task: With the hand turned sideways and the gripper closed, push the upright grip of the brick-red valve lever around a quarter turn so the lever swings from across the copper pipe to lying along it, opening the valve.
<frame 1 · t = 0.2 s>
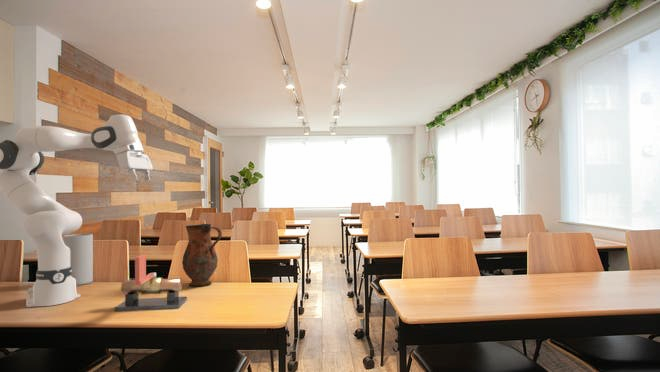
hand: (142, 180, 154), 52 cm above the table, tool tilted 20°, fingers open, 8 cm apart
valve: (152, 305, 146), on the table
valve lever: (145, 267, 139), point 17 cm above the table, hinge at 0.0°
pitcher: (203, 285, 178), on the table
cylinder vase: (78, 283, 184), on the table
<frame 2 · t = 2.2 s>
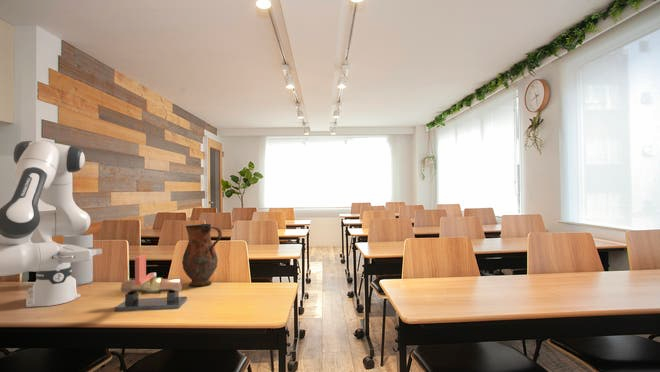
hand: (97, 250, 125), 26 cm above the table, tool horizontal, fingers open, 6 cm apart
nothing on the table moved.
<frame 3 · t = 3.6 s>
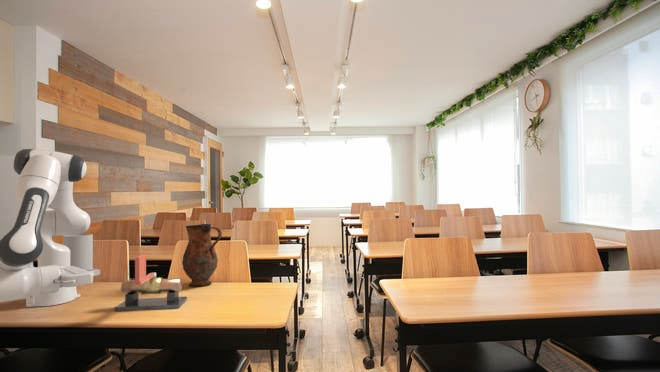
hand: (98, 271, 125), 18 cm above the table, tool horizontal, fingers closed
nothing on the table moved.
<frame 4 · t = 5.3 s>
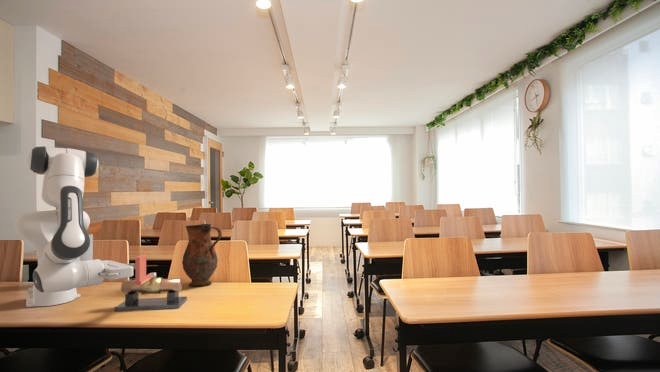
hand: (135, 265, 134), 19 cm above the table, tool horizontal, fingers closed
valve lever: (146, 267, 139), point 17 cm above the table, hinge at 0.5°, touching gripper
everything else where it was.
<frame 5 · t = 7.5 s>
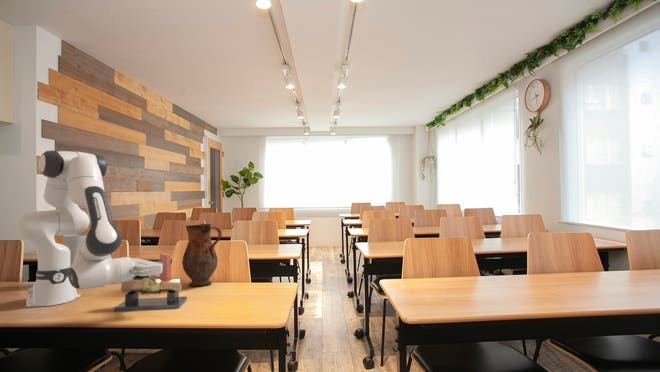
hand: (162, 263, 138), 19 cm above the table, tool horizontal, fingers closed, pressing on valve lever
valve lever: (159, 266, 142), point 17 cm above the table, hinge at 43.2°, touching gripper
everything else where it was.
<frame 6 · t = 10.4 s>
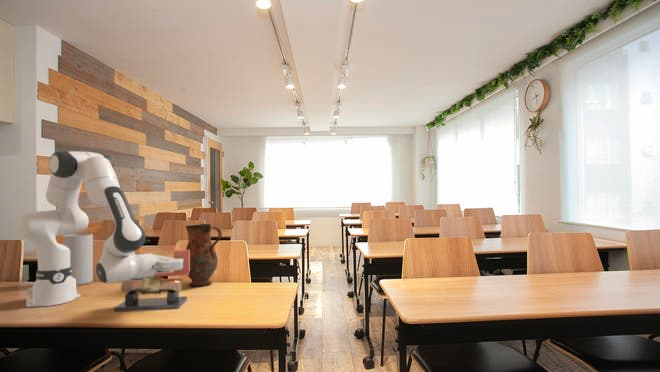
hand: (181, 259, 146), 18 cm above the table, tool horizontal, fingers closed
valve lever: (169, 263, 147), point 17 cm above the table, hinge at 91.6°, touching gripper
everything else where it was.
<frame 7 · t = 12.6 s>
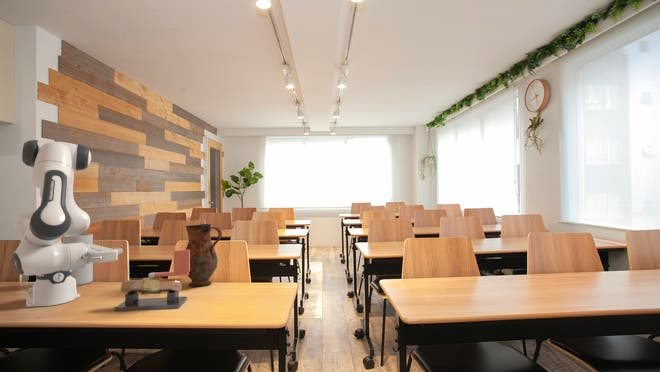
hand: (121, 250, 131), 25 cm above the table, tool horizontal, fingers closed
valve lever: (169, 263, 147), point 17 cm above the table, hinge at 91.6°
everything else where it was.
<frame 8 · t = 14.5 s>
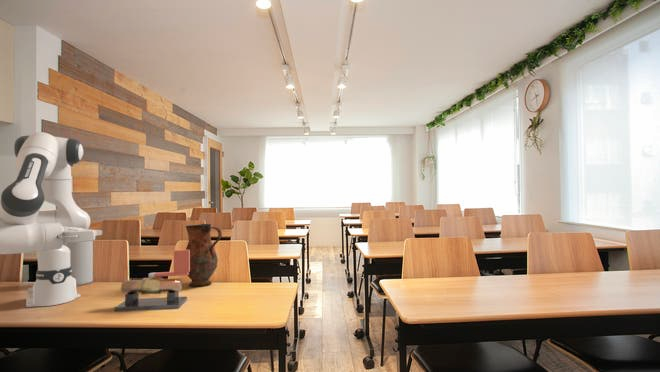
hand: (100, 232, 128), 32 cm above the table, tool horizontal, fingers closed
nothing on the table moved.
at the end: valve lever at +92° (first picture: +0°) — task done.
